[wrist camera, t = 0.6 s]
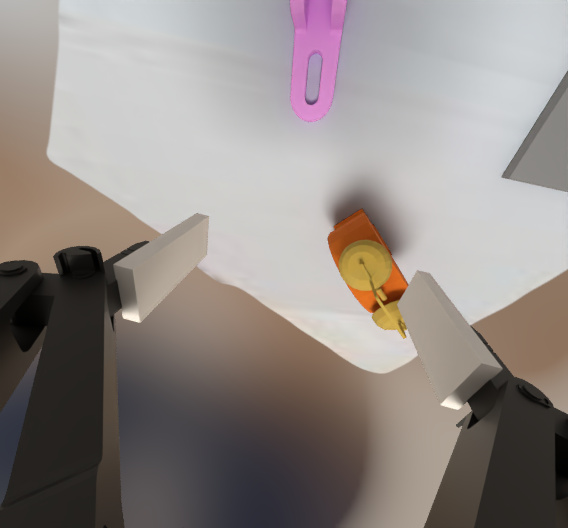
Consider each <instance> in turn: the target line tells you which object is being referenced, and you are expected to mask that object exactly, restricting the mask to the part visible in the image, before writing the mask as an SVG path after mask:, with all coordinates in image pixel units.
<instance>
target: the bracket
mask: <svg viewBox="0 0 568 528" xmlns="http://www.w3.org/2000/svg"><path fill="white" fill-rule="evenodd" d="M346 4H347V0H290V8H291V15H292V19H293V23H294V27H295V38H294V52H293V67H292V82H291V105H292V108H293V110H294V112H295V113H296V115H297V116H298V117H299V118H301V119H302V120H304V121H308V122H314V121H317V120H319V119H321V118H322V117H324V116H325V115H326V113H327V112H328V111H329V109H330V107H331V104H332V99H333V93H334V86H335V78H336V71H337V64H338V57H339V50H340V43H341V36H342V29H343V23H344V17H345V11H346ZM315 53H317V54H320V55H321V56H322V59H323V63H322V72H321V80H320V89H319V97H318V101H317V102H316V103H315V104H313V105H309V104H307V103H306V101H305V94H306V83H307V72H308V62H309V58H310V57H311V56H312V55H313V54H315Z"/></svg>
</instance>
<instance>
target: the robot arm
mask: <svg viewBox="0 0 568 528" xmlns="http://www.w3.org/2000/svg"><path fill="white" fill-rule="evenodd" d="M208 223H209V216H206V215H202V214H198V213H196V214H195V215H193V216H191V217H190V218H188V219H187V220H185V221H183V222H182V223H180V224H178V225H177V226H175V227H174V228H172V229H170V230H169V231H167V232H165V233H164V234H162V235H160V236H159V237H157V238H156V239H154V240H152V241H151V242H149V241H144V242H140V243H137V244H134V245H132V246H131V247H129V248H127V250H124V251H122V252H121V253H120V254H117V255H115V256H113V257H112V258H110V259H108V260H106V261H105V262H103V259H102V255H101V252H100V250H99V249H97V248H95V247H89V246H76V247H70V248H66V249H63V250H61V251H59V252H57V253H56V254H55V255H54V256H53V257H54V260H55V263H56V266H57V269H58V273H59V274H51V273H41V270H40V267H39V266H38V264H37V263H35V262H33V261H25V260H21V261H10V262H4V263H1V264H0V412H1V411H2V409H3V407H4V406H5V404H6V403H7V401H8V400H9V398H10V396H11V395H12V393H13V392H14V390H15V388H16V387H17V385H18V384H19V382H20V380H21V379H22V377H23V376H24V374H25V372H26V371H27V369H28V368H29V366H30V365H31V363H32V361H33V360H34V358H35V357H36V355H37V354H38V352H39V350H40V349H41V347H42V351H41V354H40V359H39V363H38V367H37V370H36V375H35V379H34V383H33V387H32V391H31V395H30V399H29V404H28V408H27V411H26V415H25V420H24V424H23V428H22V432H21V436H20V440H19V444H18V448H17V452H16V456H15V460H14V464H13V468H12V472H11V476H10V481H9V485H8V489H7V492H6V495H5V499H4V500H3V502H2V504H1V506H0V528H124V519H123V512H122V503H121V481H120V450H119V422H118V420H119V419H118V389H117V359H116V330H115V317H114V314H115V313H116V312H117V311H118V310H119V309H122V314H123V318H124V319H128V320H132V321H135V322H139V323H140V322H141V321H142V320H143V319H144V318H145V317H146V316H147V315H148V314H149V313H150V312H151V311H152V310H153V309H154V308H155V307H156V306H157V305H158V304H159V303H160V302H161V301H162V300H163V299H164V298H165V297H166V296H167V295H168V294H169V293H170V292H171V291H172V290H173V289H174V288H175V287H176V286H177V285H178V284H179V283H180V282H181V280H182V279H184V277H185V276H186V275H187V274H188V273H189V272H190V271H191V270H192V269H193V268H194V267H195V266H196V265H197V264H198V263H199V262H200V261H201V260H202V259H203V258H204V257H205V256H206V255H207V243H208ZM397 306H398V308H399V311H400V313H401V315H402V318H403V320H404V322H405V325H406V327H407V329H408V332H409V334H410V336H411V339H412V341H413V343H414V346H415V348H416V350H417V353H418V355H419V357H420V360H421V362H422V364H423V366H424V369H425V371H426V374H427V376H428V378H429V381H430V383H431V385H432V387H433V390H434V392H435V394H436V397H437V399H438V401H439V404H440V405H442V406H446V407H449V408H453V409H457V410H458V409H460V408H461V407H462V406H463V405H464V404H465V403H466V402H468V403H469V405H470V407H471V409H472V411H471V412H470V413H469V414H468V415H467V416H465V417H464V418H463V419H462V420H461V421H460V422H459V423H458V424H456V426H457V427H460V426H462V429H461V432H460V435H459V437H458V440H457V442H456V445H455V448H454V450H453V453H452V455H451V458H450V461H449V463H448V466H447V468H446V471H445V474H444V476H443V479H442V482H441V484H440V487H439V489H438V492H437V495H436V498H435V500H434V503H433V505H432V508H431V510H430V513H429V516H428V518H427V521H426V523H425V526H424V528H568V414H566V413H564V412H562V411H560V410H558V409H556V408H554V407H553V404H552V403H551V401H550V400H549V399H548V398H547V397H546V396H545V395H544V394H543V393H542V392H541V391H540V390H539V389H537V388H536V387H535V386H533V385H532V384H530V383H528V382H527V381H525V380H523V379H520V378H517V377H514V376H513V375H512V374H511V373H510V371H509V370H508V369H507V367H506V366H505V365H504V364H503V362H502V361H501V360H500V359H499V357H498V356H497V355H496V353H494V352H493V349H492V348H491V347H490V346H489V345H487V344H488V343H487V342H486V341H485V339H484V338H483V337H482V335H481V334H480V333H478V332H477V331H476V330H475V329H474V328H473V327H471V326H470V325H469V324H468V323H467V321H466V320H465V319H464V317H463V316H462V315H461V313H460V312H459V311H458V310H457V308H456V307H455V306H454V304H453V303H452V302H451V300H450V299H449V298H448V296H447V295H446V294H445V293H444V291H443V290H442V289H441V287H440V286H439V285H438V283H437V282H436V281H435V279H434V278H433V277H432V276H431V274H430V273H426V272H422V271H418V270H417V272H416V274H415V275H414V277H413V279H412V280H411V282H410V284H409V285H408V287H407V289H406V290H405V292H404V294H403V295H402V297H401V299H400V300H399V302H398V304H397Z"/></svg>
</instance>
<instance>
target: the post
mask: <svg viewBox="0 0 568 528" xmlns="http://www.w3.org/2000/svg"><path fill="white" fill-rule="evenodd" d="M502 178H507V179H511V180H516V181H520V182H525V183H529V184H534V185H538V186H543V187H547V188H552V189H556V190H561V191H565V192H568V72H567V73H566V75H565V77H564V78H563V80H562V81H561V83H560V85H559V86H558V88H557V89H556V91H555V92H554V94H553V96H552V97H551V99H550V100H549V102H548V104H547V105H546V107H545V108H544V110H543V112H542V113H541V115H540V116H539V118H538V120H537V121H536V123H535V124H534V126H533V128H532V129H531V131H530V132H529V134H528V136H527V137H526V139H525V140H524V142H523V144H522V145H521V147H520V148H519V150H518V151H517V153H516V155H515V156H514V158H513V159H512V161H511V163H510V164H509V166H508V167H507V169H506V171H505V172H504V174H503V175H502Z"/></svg>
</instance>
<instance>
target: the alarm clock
mask: <svg viewBox="0 0 568 528" xmlns="http://www.w3.org/2000/svg"><path fill="white" fill-rule="evenodd" d="M334 229H335V230H334V231H333V232H331V233H330V234H329V236H328V244H329V248H330V251H331V254H332V257H333V259H334V261H335V264H336V266H337V268H338V270H339V272H340V274H341V277H342V278H343V280H344V281H345V282H346V284H347V286H348V287H349V289H350V290H351V292H352V293H353V295H354V296H355V297H356V299H357V300H358V301H359V302H360V304H361V305H362V306H363V307H364V308H365V309H366V310H368V311H369V312H370V313H374V314H373V315H372V319H373V320H374V322H375V323H376V324H377V326H379V327H381V328H382V329H385V330H396V329H397V330H398V332H399V333H400V334H401V336H402V337H403V339H404V338H407V337H406V335H405V332H404V330H407V328H406V325H405V322H404V320H403V318H402V315H401V313H400V311H399V308H398V306H397V304H398V302H399V300H400V299H401V297H402V295H403V294H404V292H405V290H406V289H407V287H408V283H407V281H406V279H405V278H404V276H403V274H402V273H401V271H400V269H399V268H398V266H397V264H396V263H395V261H394V259H393V258H392V256H391V255H392V254H391V252H390V250H389V249H388V247H387V245H386V244H385V242H384V240H383V239H382V237H381V236H380V234H379V232H378V231H377V229H376V228H375V226H374V224H373V225H372V224H371V222H370V220H369V219H368V217H367V215H366V214H365V212H364V211H363V209H360V210H359V211H357V212H356V213H354V214H352V215H351V216H349V217H348V218H346V219H345V220H343V221H341V222H340V223H338V224H337V225H335V226H334Z"/></svg>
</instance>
